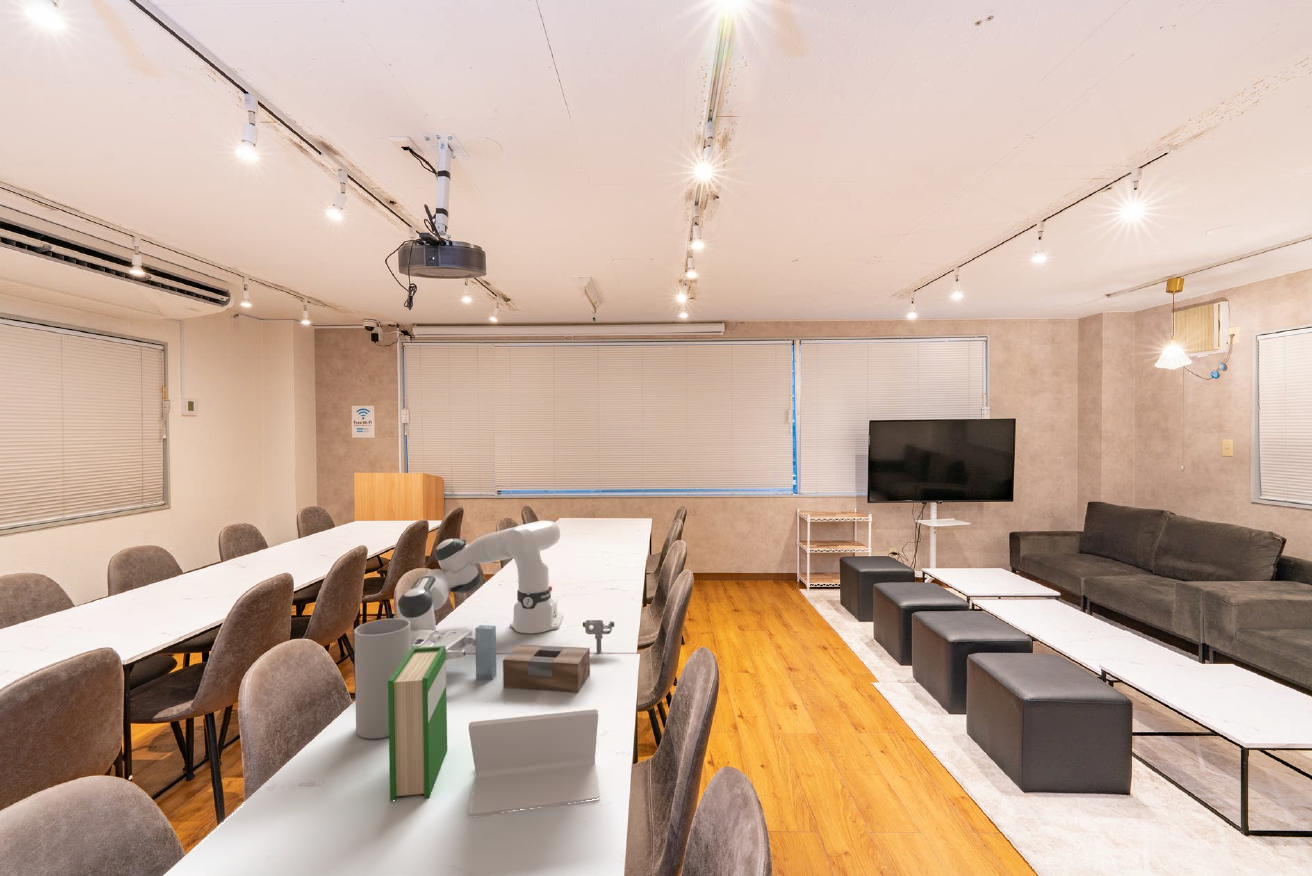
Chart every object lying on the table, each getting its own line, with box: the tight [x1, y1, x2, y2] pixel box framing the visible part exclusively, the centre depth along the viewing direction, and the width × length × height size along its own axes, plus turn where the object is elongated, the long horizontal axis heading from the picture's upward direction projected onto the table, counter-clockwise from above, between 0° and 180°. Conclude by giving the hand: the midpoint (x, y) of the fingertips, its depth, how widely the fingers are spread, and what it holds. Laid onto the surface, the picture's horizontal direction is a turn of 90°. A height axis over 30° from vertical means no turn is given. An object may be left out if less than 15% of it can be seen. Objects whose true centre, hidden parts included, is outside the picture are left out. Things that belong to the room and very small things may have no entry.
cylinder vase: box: [353, 617, 411, 740], centre depth 144 cm, size 12×12×25 cm
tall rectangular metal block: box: [474, 624, 497, 681], centre depth 173 cm, size 3×5×15 cm, turn 81°
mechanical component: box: [582, 619, 615, 654], centre depth 192 cm, size 3×10×10 cm, turn 89°
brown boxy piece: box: [502, 644, 591, 693], centre depth 170 cm, size 12×22×8 cm, turn 81°
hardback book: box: [388, 646, 448, 802], centre depth 124 cm, size 18×7×24 cm, turn 9°
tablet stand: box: [468, 709, 601, 818], centre depth 121 cm, size 18×25×17 cm
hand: (471, 647), depth 173 cm, fingers open, 8 cm apart
